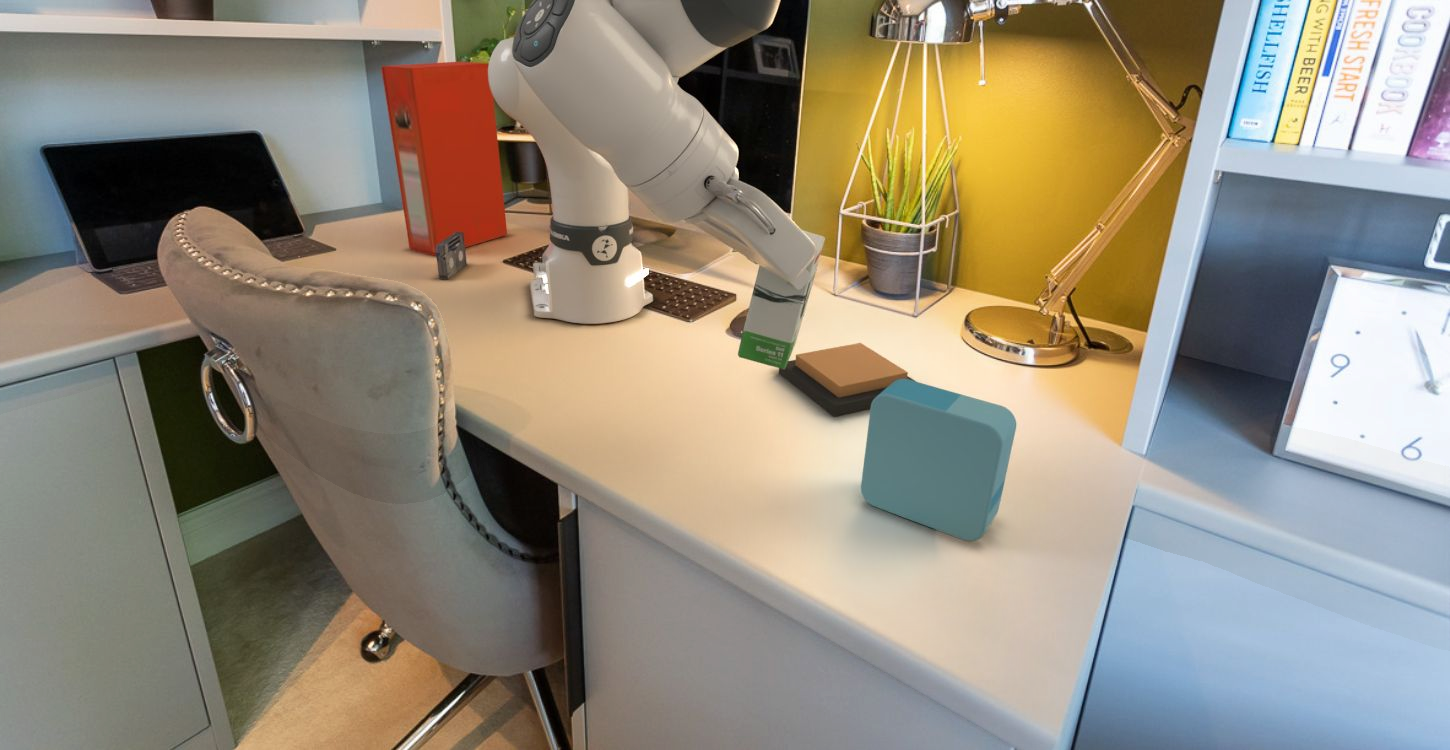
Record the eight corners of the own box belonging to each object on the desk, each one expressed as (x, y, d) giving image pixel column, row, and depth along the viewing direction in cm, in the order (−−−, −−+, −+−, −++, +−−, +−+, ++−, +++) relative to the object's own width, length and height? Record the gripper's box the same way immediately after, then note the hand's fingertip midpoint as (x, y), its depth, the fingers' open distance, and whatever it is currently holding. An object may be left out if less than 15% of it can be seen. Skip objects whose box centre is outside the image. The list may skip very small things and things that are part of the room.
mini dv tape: (458, 264, 138) (454, 231, 136) (466, 265, 138) (463, 231, 136) (439, 279, 131) (434, 244, 129) (448, 279, 131) (443, 244, 128)
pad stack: (778, 373, 102) (779, 351, 100) (860, 357, 107) (863, 336, 106) (834, 417, 91) (836, 394, 90) (922, 397, 96) (925, 375, 95)
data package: (996, 523, 73) (1020, 409, 68) (980, 547, 70) (1005, 430, 65) (877, 480, 79) (891, 373, 74) (858, 501, 76) (871, 390, 71)
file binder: (408, 249, 146) (380, 65, 132) (478, 229, 159) (459, 60, 146) (439, 256, 142) (413, 68, 129) (507, 235, 156) (491, 63, 142)
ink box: (785, 372, 73) (818, 250, 69) (735, 357, 74) (764, 235, 69) (797, 344, 81) (827, 233, 77) (751, 331, 82) (779, 220, 77)
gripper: (771, 162, 56) (868, 277, 64) (663, 121, 72) (751, 216, 80) (713, 229, 56) (817, 335, 64) (618, 172, 72) (711, 263, 81)
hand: (780, 269), depth 72 cm, fingers closed on ink box, 6 cm apart
